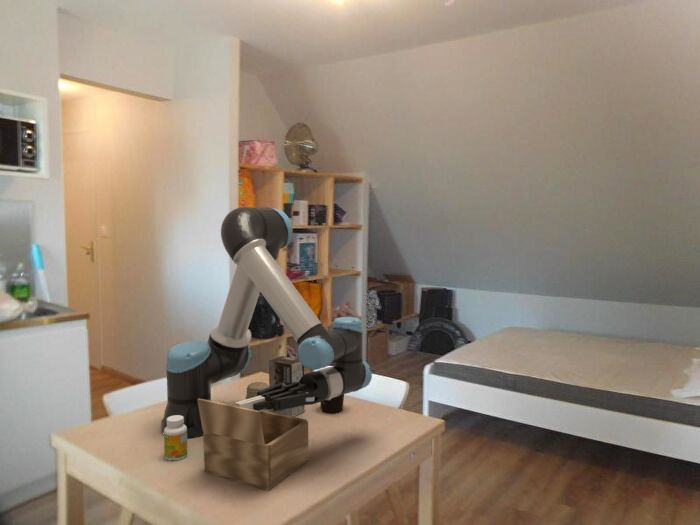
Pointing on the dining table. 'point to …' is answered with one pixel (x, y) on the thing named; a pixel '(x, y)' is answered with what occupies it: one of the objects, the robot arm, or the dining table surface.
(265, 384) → the carving
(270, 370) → the coffee box
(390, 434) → the dining table surface
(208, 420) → the flap
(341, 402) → the coffee mug
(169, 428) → the supplement bottle
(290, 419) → the wooden open box
